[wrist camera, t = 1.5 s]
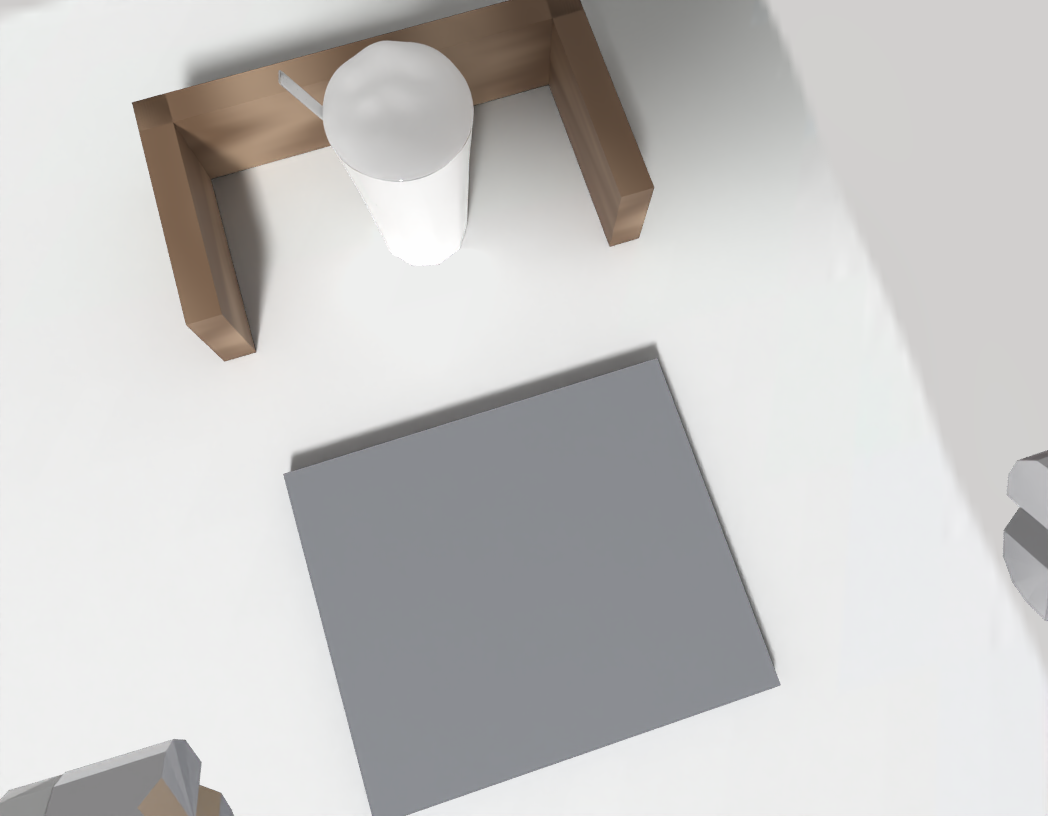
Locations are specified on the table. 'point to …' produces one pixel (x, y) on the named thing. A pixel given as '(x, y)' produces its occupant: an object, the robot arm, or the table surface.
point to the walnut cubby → (291, 129)
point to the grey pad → (523, 588)
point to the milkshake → (402, 143)
